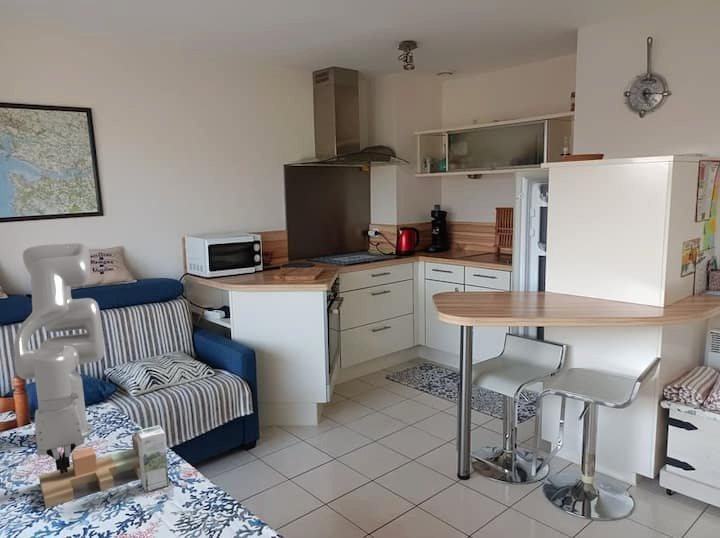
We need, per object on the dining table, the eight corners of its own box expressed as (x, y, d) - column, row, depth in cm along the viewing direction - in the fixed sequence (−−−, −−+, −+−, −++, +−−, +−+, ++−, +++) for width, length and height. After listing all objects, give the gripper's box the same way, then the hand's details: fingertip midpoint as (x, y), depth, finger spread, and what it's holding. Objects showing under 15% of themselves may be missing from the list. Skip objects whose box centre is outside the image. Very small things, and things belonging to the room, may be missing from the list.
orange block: (73, 468, 141) (71, 452, 141) (94, 463, 144) (92, 447, 144) (75, 476, 137) (73, 459, 137) (97, 470, 140) (95, 453, 139)
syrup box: (164, 476, 140) (159, 423, 138) (169, 486, 135) (164, 431, 133) (141, 483, 137) (135, 429, 135) (146, 493, 132) (140, 437, 130)
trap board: (40, 484, 139) (37, 460, 138) (137, 456, 153) (135, 434, 152) (45, 508, 127) (42, 482, 127) (150, 475, 141) (148, 451, 140)
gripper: (86, 391, 143) (93, 457, 145) (19, 405, 135) (28, 474, 137) (90, 399, 137) (98, 467, 139) (21, 414, 128) (30, 486, 131)
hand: (63, 471), depth 138 cm, fingers closed
